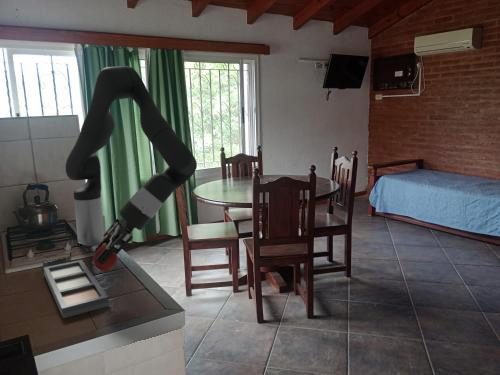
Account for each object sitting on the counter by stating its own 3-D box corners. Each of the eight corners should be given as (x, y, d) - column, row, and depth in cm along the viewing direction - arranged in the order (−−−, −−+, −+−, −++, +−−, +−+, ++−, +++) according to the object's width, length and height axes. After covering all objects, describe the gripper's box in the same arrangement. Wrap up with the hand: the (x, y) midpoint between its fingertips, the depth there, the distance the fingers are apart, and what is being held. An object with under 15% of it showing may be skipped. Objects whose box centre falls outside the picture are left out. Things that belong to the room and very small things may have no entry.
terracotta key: (61, 297, 107) (61, 295, 107) (93, 289, 111) (93, 288, 111) (67, 309, 100) (67, 308, 100) (101, 301, 105) (101, 299, 104)
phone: (41, 268, 126) (46, 252, 140) (42, 272, 127) (46, 255, 140) (69, 265, 129) (71, 249, 143) (69, 268, 129) (71, 252, 143)
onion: (96, 278, 104) (93, 248, 102) (93, 270, 109) (90, 241, 107) (119, 273, 106) (117, 244, 105) (115, 266, 111) (113, 238, 110)
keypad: (44, 275, 123) (43, 267, 123) (82, 267, 129) (81, 259, 129) (62, 318, 98) (61, 308, 98) (108, 306, 104) (108, 296, 104)
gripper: (125, 194, 113) (83, 241, 110) (135, 205, 100) (88, 259, 98) (146, 210, 116) (105, 257, 114) (158, 223, 104) (113, 276, 101)
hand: (97, 258), depth 106 cm, fingers closed on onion, 5 cm apart
